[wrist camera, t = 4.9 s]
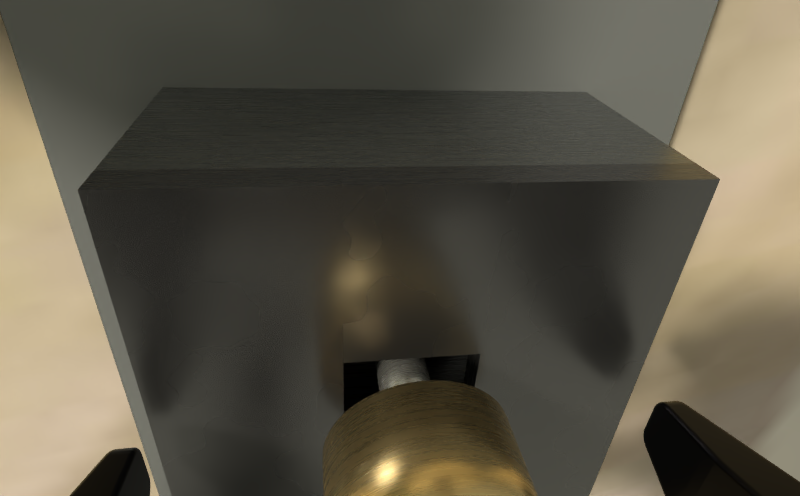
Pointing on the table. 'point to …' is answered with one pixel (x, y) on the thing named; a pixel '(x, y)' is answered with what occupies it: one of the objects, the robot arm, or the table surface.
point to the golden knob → (423, 441)
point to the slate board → (327, 72)
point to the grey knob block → (385, 267)
